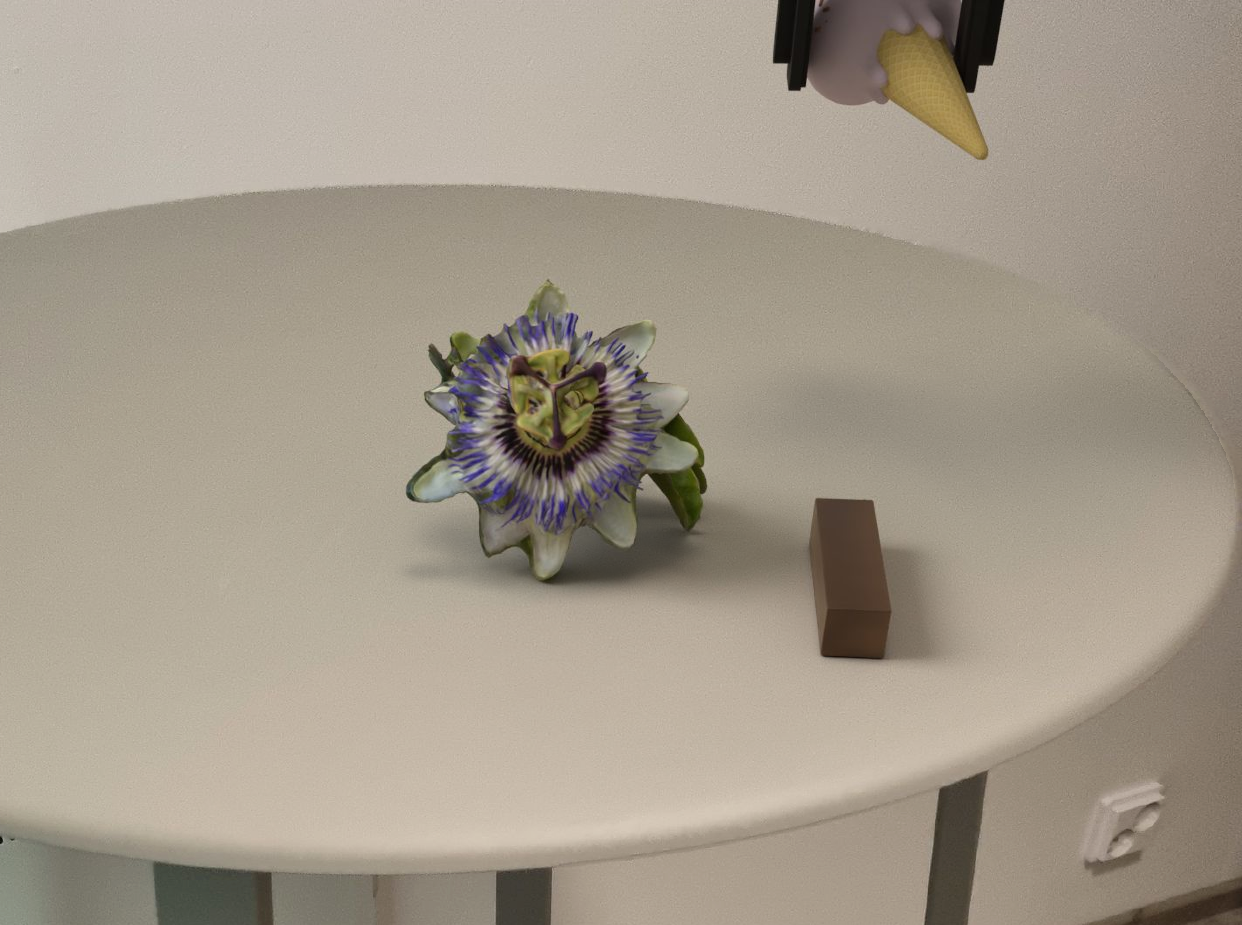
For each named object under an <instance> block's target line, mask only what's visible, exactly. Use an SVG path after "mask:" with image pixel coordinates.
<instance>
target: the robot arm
mask: <svg viewBox="0 0 1242 925" xmlns="http://www.w3.org/2000/svg"><path fill="white" fill-rule="evenodd" d="M1005 1H1006V0H961V3H962V4H961V10H960V16H959V23H958V29H957V36H956V42H955V53H954V55H953V60H954V62H955V65H956V67H957V70H958V73H959V75H960V78H961V80H962V83H963V85H964V88H965V91H966V93H967V94H974V93H975V92H976V87H977V81H978V74H979V70H980V67H992V66H993V65H994V63H995V59H996V54H997V49H998V42H999V37H1000V30H1001V25H1002V19H1003V12H1004V8H1005V7H1004V6H1005ZM815 2H816V0H777V7H776V8H777V9H776V16H775V17H776V19H775V29H774V38H773V50H772V64H777V65H786V83H787V91H788V92H801V91H802V89H803V88H807V83H808V82H807V81H808V78H807V74H808V65H809V56H810V47H811V38H812V29H813V20H814V11H815Z"/></svg>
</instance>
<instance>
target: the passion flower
mask: <svg viewBox="0 0 1242 925" xmlns="http://www.w3.org/2000/svg"><path fill="white" fill-rule="evenodd" d="M578 320H579V315H578V314H577V313H573V312H571V310H570V308H569V303H568V302H567V296H566V293H565V292H564V290H562V289H561V287H559V286H558V285H556V284H554V283H553V282H551V281H550V279H549V278H547V279H546V281H545V282H544V283H543V284H541V286H539V287H538V289H536V291H535V293H534V294H533V296H532V297H531V299H530V301H529V303H528V306H527V308H526V310H525V312H524V313H523V314H522V315H520V316H518V317H517V318H515V320H514V322H513V323H511V324H510V325H507V323H506V322H504V323H503V325H502V329H501V331H500V332H499V333H498V334H496V335H492V334H491V333H487V334H486V335H484V336H483V337H481V338H480V337H477V336H474V335H471V334H470V333H468V332H465V331H463V330H461V331H456V332H453V333H452V334H451V336H449V344H450V351H449V354H448V355H447V356H446V358H443V355H442V353H441V352H440V351H439V350H438V348H437V347H436V346H435V344H434V343H432V342H431V343H429V344H428V349H427V352H428V355H427V356H428V358H429V360H430V362H431V363H432V365H433V366H434V367H435V368H436V370H437V372H438V373H439V374H440V377H441V381H440V383H439V384H438V385H437V386H435V387H434V388H433V389H429V390H425V391H424V392H423V397H424V401H425V403H426V404H427V405H428V407H429V408H431V409H432V410H434V411H435V412H436V413H438V414H440V415H441V416H442V417H443V418H445V420H447V421H448V422H449V423H451V424H452V425H453V426H454V427H453V429H451V430H448V432H447V433H446V442H445V446H444V449H443V450H442V451H441V452H440V453H439V454H438V455H436V456H434V457H432V458H431V459H430V460H429V461H427V462H426V463H425V464H423V465H422V466H421V467H420V468H419V469H418V470H417V471H416V472H414V474H413V475H412V476H411V478H410V479H409V480H408V482H407V484H405V485H406V486H405V495H406V498H408V499H409V500H410V501H411V502H414V503H415V502H416V503H419V504H420V503H421V504H423V503H424V504H431V503H435V504H436V503H441V502H443V501H444V500H447V499H451V498H454V497H455V496H456V495H458V494H468V495H469V496H470V497H472V499H473V500H474V501H475V503H476V505H477V509H478V537H479V542H480V545H481V549H482V552H483V554H484V556H485V557H486V558H488V559H490V558H491V557H492V556H495V555H501V554H502V553H503V552H505V551H506V550H508V549H510V548H511V549H512V548H519V549H520V550H521V551H523V552H524V554H525V555H526V556H527V557H528V561H529V567H530V570H531V572H532V573H533V575H534V577H535V578H536V579H537V580H538V581H546V580H549V579H550V578H552V577H554V576H555V575H556V574H557V573H559V571H560V570H561V568H562V566H563V564H564V561H565V559H566V556H567V553H568V551H569V549H570V545H571V541H572V538H573V535H574V533H576V531H577V530H578V529H580V528H581V527H585V526H588V528H590V529H591V530H593V531H595V532H596V533H597V534H598V535H599V537H600V538H601V540H602V541H603V542H605V543H606V544H608V545H609V546H613V547H615V548H617V549H619V550H622V551H628V550H629V549H630V548H631V547H632V546H633V545H634V543H635V541H636V540H635V539H636V535H637V533H638V532H637V531H638V526H639V521H638V520H639V519H638V514H637V513H638V512H637V502H636V501H637V500H636V499H637V491H638V490H639V491H641V492H642V491H643V492H644V488H643V487H641V486H639V484H640V485H642V483H643V481H642V478H643V477H645V476H646V475H647V476H648V477H649V478H650V479H651V480H652V481H653V483H654V484H655V485H656V487H658V489H659V490H660V491H661V493H663V495H664V496H665V497H666V499H667V500H668V502H669V504H670V506H671V508H672V510H673V511H674V512H673V513H675V515H676V517H677V519H678V522H679V524H680V525H681V527H682V528H683V529H685V530H686V531H687V532H690V531H691V530H692V529H693V528H694V527H695V526H696V524H697V522H698V521H699V519H700V518H701V513H702V511H703V510H702V509H703V506H704V500H703V498H702V495H704V494H705V493H706V492H707V490H708V484H707V482H708V481H707V476H706V475H705V472H704V471H703V469H702V468H704V466H705V460H706V459H705V452H704V449H703V447H702V446H701V444H700V442H699V440H698V437H697V436H696V434H695V433H694V431H693V429H692V428H691V426H690V425H689V424H688V423H686V421H685V420H684V418H683V417H682V416H681V414H680V412H681V411H683V409H684V408H685V406H686V405H687V403H688V402H689V399H690V392H688V390H687V389H686V388H684V387H683V386H681V385H677V384H673V383H670V382H657V381H649V380H648V378H647V377H648V375H649V371H646V372H644V370H643V369H642V367H641V366H640V364H641V363H642V362H643V361H644V360H645V359H646V357H648V355H647V354H648V352H649V351H651V349H653V345H654V344H655V341H656V336H657V327H656V325H655V323H654V322H653V320H650V319H643V320H640V321H637V322H634V323H632V324H628V325H625V326H622V327H619V328H616V329H614V330H612V331H611V332H609V334H607V335H606V336H604V337H602V336H600V337H599V338H598V339H596V340H594V341H592V343H590V342H591V339H592V337H593V334H594V331H593V330H590V331H588V330H586V332H585V333H584V334H583V335H582V336H581V337H579V336H578V335H577V331H576V324H577V322H578ZM471 355H473V356H472V357H471V358H469V357H470V356H471ZM454 367H456V368H457V370H458V375H455V372H453V368H454Z"/></svg>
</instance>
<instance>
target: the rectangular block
mask: <svg viewBox="0 0 1242 925" xmlns="http://www.w3.org/2000/svg"><path fill="white" fill-rule="evenodd" d="M808 543H809V553H810V563H811V571H812V581H813V584H812V585H813V592H814V604H815V614H816V623H817V624H816V625H817V633H818V634H817V635H818V643H819V654H820V656H827V657H828V656H829V657H847V658H849V657H850V658H869V659H870V658H872V659H883V658H884V657H885V653H886V645H887V641H888V635H889V630H890V629H889V628H890V622H891V617H892V606H891V600H890V594H889V588H888V582H887V574H886V569H885V562H884V555H883V551H882V546H881V538H880V532H879V526H878V520H877V514H876V507H875V502H874V500H873V499H855V498H854V499H852V498H828V497H827V498H826V497H825V498H824V497H816V498H815V499H814V505H813V512H812V519H811V526H810V533H809V541H808Z"/></svg>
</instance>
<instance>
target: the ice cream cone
mask: <svg viewBox="0 0 1242 925" xmlns="http://www.w3.org/2000/svg"><path fill="white" fill-rule="evenodd" d="M961 4H962V0H816V2H815V11H814V20H813V29H812V38H811V47H810V56H809V65H808V74H807V81H808V82H809V83H810V85H811V86H812V88H813V89H814V90H815V91H816V92H817V93H818V94H820V95H821V96H822V97H824V98H825V99H826V100H829V101H831V102H833V103H835V104H838V105H842V106H860V105H865V104H868V103H871V102H875V103H876V104H878V105H886V104H887V103H888V102H889V101H891V102H893V103H894V104H895V105H897V106H898V107H899V108H901V109H902V110H904V111H905V112H907V113H909V115H910V114H911V115H912V116H913V117H914V118H915V119H917V120H918V121H920V122H922V124H924V125H926V126H928V127H929V128H930V129H932V130H933V131H935V132H936V133H938V134H939V135H940V136H942V137H944V138H945V139H947V140H948V141H950V142H951V143H952V144H954V145H955V146H957V147H958V148H960V149H961V150H962V151H964V152H966V153H967V154H969V155H970V156H971V157H973V158H974V159H976V160H978V161H985V160H986V159H987V158H988V157H989V148H988V144H987V142H986V140H985V137H984V134H983V132H982V129H981V127H980V123H979V122H978V120H977V117H976V114H975V111H974V108H973V106H972V104H971V101H970V99H969V96H968V93H966V91H965V88H964V85H963V83H962V80H961V78H960V75H959V73H958V70H957V67H956V65H955V62H954V60H953V55H954V53H955V42H956V36H957V29H958V23H959V16H960V10H961Z"/></svg>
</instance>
